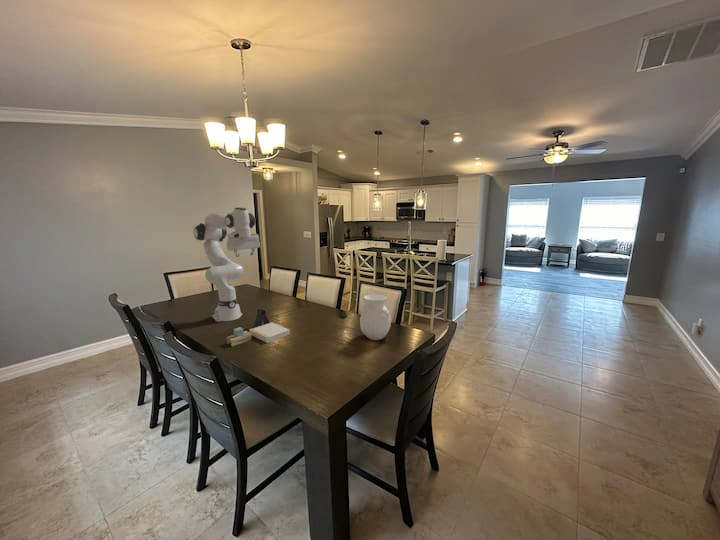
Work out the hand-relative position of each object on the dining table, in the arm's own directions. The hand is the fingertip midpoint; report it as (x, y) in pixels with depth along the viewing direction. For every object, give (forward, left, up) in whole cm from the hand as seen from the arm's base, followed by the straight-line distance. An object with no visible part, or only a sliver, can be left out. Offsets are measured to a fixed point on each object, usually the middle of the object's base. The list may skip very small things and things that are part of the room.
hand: (245, 256), depth 179 cm
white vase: (+72, +40, -48) cm, 96 cm away
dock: (+18, +2, -48) cm, 51 cm away
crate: (+13, -15, -44) cm, 49 cm away
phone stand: (+3, +6, -48) cm, 49 cm away
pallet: (+13, -15, -48) cm, 52 cm away
